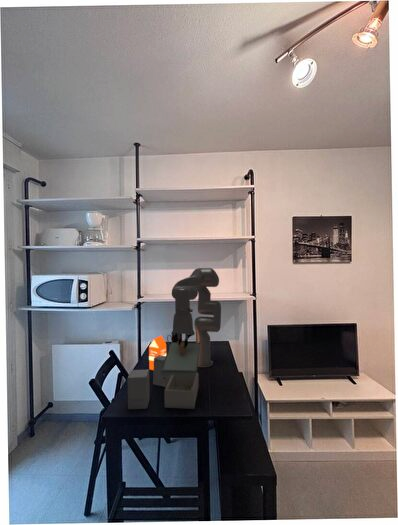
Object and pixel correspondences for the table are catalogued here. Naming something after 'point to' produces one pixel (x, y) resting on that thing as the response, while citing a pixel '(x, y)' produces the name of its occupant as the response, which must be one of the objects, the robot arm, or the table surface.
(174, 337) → the brown pitcher
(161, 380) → the skincare box
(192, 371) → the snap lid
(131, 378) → the supplement box
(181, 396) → the parts tub
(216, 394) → the table surface
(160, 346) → the orange juice
